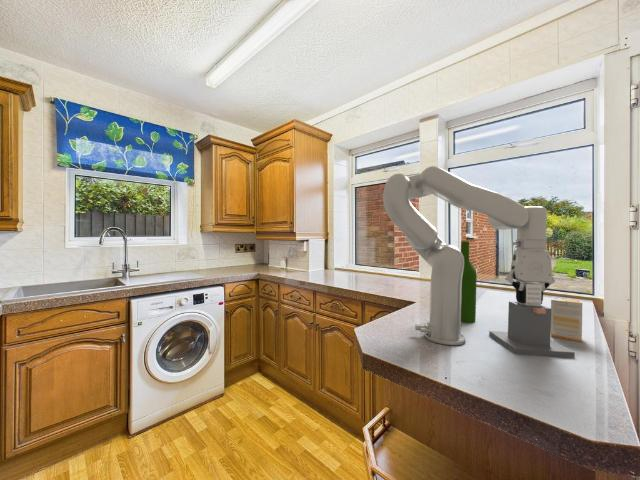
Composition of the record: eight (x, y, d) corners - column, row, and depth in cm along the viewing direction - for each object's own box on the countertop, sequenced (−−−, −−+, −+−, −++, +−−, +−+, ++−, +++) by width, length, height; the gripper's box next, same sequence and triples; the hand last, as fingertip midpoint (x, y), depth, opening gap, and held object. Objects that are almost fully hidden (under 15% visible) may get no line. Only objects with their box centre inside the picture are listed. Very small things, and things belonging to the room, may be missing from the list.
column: (524, 342, 89) (526, 280, 88) (514, 336, 94) (516, 278, 94) (542, 343, 88) (544, 281, 88) (531, 337, 93) (533, 278, 93)
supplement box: (581, 338, 98) (582, 300, 98) (581, 342, 95) (583, 303, 94) (550, 332, 104) (551, 296, 103) (549, 336, 100) (551, 299, 100)
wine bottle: (480, 321, 117) (482, 241, 116) (467, 324, 112) (469, 241, 111) (459, 315, 124) (461, 241, 124) (446, 318, 120) (448, 241, 119)
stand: (515, 354, 84) (516, 310, 84) (489, 335, 100) (490, 298, 100) (574, 357, 82) (576, 312, 82) (538, 337, 98) (539, 300, 98)
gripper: (509, 245, 88) (507, 304, 88) (568, 246, 86) (566, 306, 86) (496, 244, 95) (495, 299, 96) (551, 245, 93) (549, 301, 94)
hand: (529, 302), depth 91 cm, fingers closed on column, 4 cm apart
